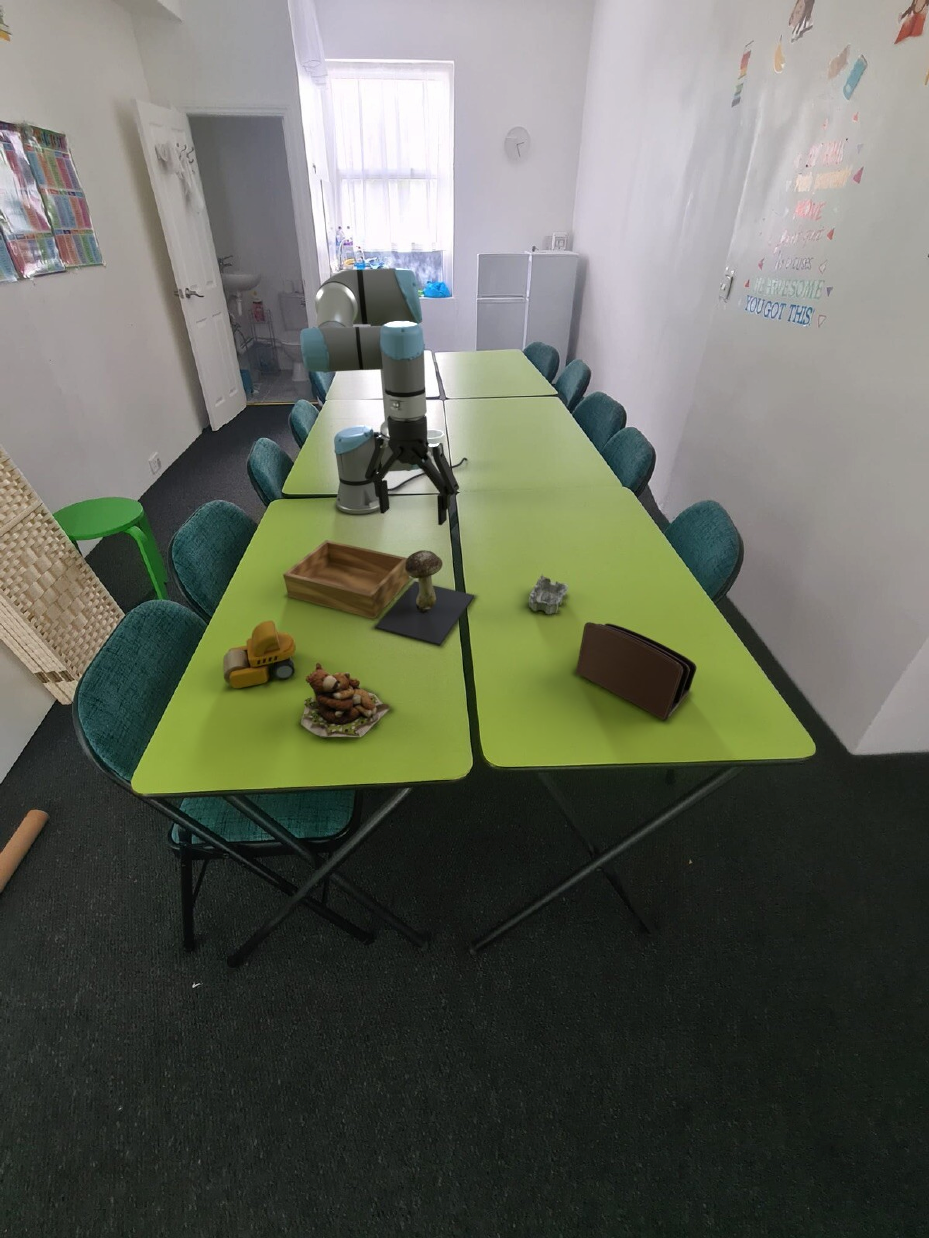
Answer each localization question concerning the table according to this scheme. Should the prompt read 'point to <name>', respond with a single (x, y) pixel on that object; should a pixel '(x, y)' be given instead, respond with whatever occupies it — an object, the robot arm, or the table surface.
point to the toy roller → (260, 657)
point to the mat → (425, 615)
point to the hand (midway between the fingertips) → (413, 516)
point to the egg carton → (547, 595)
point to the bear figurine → (340, 706)
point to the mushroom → (424, 576)
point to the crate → (347, 578)
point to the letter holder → (635, 668)
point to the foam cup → (434, 440)
